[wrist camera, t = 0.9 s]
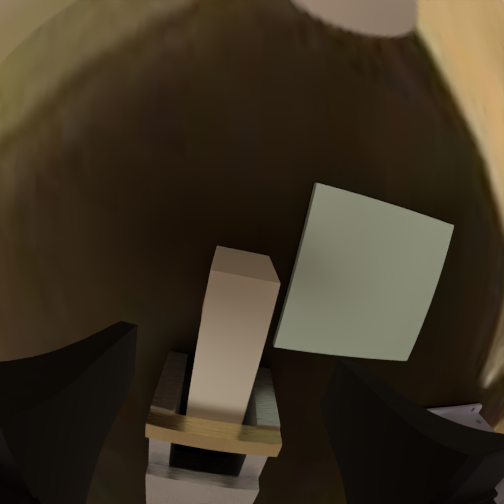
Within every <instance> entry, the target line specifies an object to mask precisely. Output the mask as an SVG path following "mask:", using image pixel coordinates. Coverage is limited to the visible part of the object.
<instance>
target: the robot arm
mask: <svg viewBox="0 0 504 504" xmlns="http://www.w3.org/2000/svg"><path fill="white" fill-rule="evenodd" d="M136 339H137V325H135V324H131V323H127V322H123V321H120V322H118V323H116V324H113V325H111V326H109V327H108V328H106V329H104V330H102V331H100V332H98V333H96V334H93V335H91V336H89V337H87V338H85V339H83V340H81V341H78V342H76V343H73V344H71V345H69V346H66V347H64V348H61V349H58V350H55V351H52V352H49V353H45V354H42V355H38V356H34V357H29V358H23V359H17V360H12V361H2V362H0V504H86V499H87V495H88V491H89V487H90V484H91V480H92V476H93V473H94V469H95V466H96V463H97V460H98V457H99V454H100V451H101V448H102V445H103V443H104V441H105V438H106V436H107V434H108V432H109V430H110V428H111V426H112V424H113V422H114V420H115V418H116V416H117V414H118V412H119V410H120V408H121V406H122V404H123V402H124V400H125V398H126V396H127V394H128V391H129V388H130V385H131V382H132V379H133V376H134V373H135V355H136ZM321 407H322V414H323V419H324V424H325V427H326V431H327V434H328V437H329V440H330V442H331V445H332V448H333V451H334V454H335V457H336V460H337V463H338V466H339V469H340V472H341V476H342V480H343V485H344V490H345V495H346V502H347V504H504V434H501V433H495V431H494V430H493V429H492V428H491V427H490V426H489V425H488V423H487V422H486V421H485V420H484V419H483V418H482V417H481V416H480V414H479V411H480V409H481V408H482V405H481V404H480V403H477V404H470V405H462V406H453V407H442V408H430V409H425V408H423V407H421V406H419V405H418V404H416V403H414V402H413V401H411V400H409V399H408V398H406V397H405V396H403V395H402V394H400V393H399V392H397V391H396V390H394V389H393V388H391V387H390V386H389V385H387V384H386V383H384V382H383V381H382V380H380V379H379V378H377V377H376V376H375V375H373V374H372V373H371V372H369V371H368V370H366V369H365V368H363V367H362V366H360V365H359V364H357V363H355V362H354V361H346V360H338V362H337V364H336V367H335V369H334V372H333V374H332V377H331V379H330V382H329V384H328V386H327V389H326V391H325V394H324V396H323V398H322V400H321Z"/></svg>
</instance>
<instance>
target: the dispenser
mask: <svg viewBox="0 0 504 504" xmlns="http://www.w3.org/2000/svg"><path fill="white" fill-rule="evenodd" d="M187 357H188V354H184V353H179V352H174V351H169V354H168V357H167V359H166V362H165V365H164V368H163V371H162V374H161V377H160V380H159V383H158V386H157V389H156V392H155V395H154V398H153V401H152V404H151V409H150V412H149V415H148V419H147V422H146V436H145V437H149V463H148V467H147V471H146V504H253V502H254V500H255V498H256V496H257V494H258V492H259V484H258V477H259V475H260V473H261V471H262V469H263V466H264V464H265V462H266V459H267V457H268V456H274V457H277V455H278V453H279V451H280V449H281V446H282V441H281V435H280V430H279V429H280V421H279V416H278V410H277V405H276V399H275V394H274V389H273V383H272V378H271V372H270V368H263V367H258V369H257V373H256V376H255V380H254V383H253V387H252V390H251V394H250V397H249V401H248V404H247V408H246V411H245V414H244V418H243V421H242V424H241V425H238V424H231V423H224V422H217V421H211V420H205V419H200V418H194V417H189V416H184V415H179V412H180V405H181V397H182V390H183V383H184V376H185V370H186V363H187ZM175 443H176V444H181V445H186V446H191V447H197V448H203V449H209V450H216V451H223V452H227V455H226V458H218V457H211V456H205V455H199V454H193V453H187V452H182V451H177V450H175Z"/></svg>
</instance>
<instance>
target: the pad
mask: <svg viewBox="0 0 504 504" xmlns="http://www.w3.org/2000/svg"><path fill="white" fill-rule="evenodd" d="M453 228H454V225H451V224H448V223H445V222H443V221H440V220H437V219H434V218H431V217H428V216H426V215H423V214H420V213H417V212H414V211H411V210H408V209H405V208H402V207H398V206H395V205H392V204H389V203H386V202H383V201H379V200H376V199H373V198H369V197H366V196H363V195H359V194H356V193H352V192H349V191H345V190H342V189H338V188H335V187H331V186H327V185H324V184H320V183H314V186H313V191H312V195H311V199H310V203H309V208H308V212H307V216H306V220H305V224H304V228H303V232H302V236H301V240H300V244H299V248H298V252H297V256H296V260H295V264H294V267H293V271H292V275H291V279H290V283H289V286H288V290H287V294H286V297H285V301H284V305H283V308H282V312H281V316H280V319H279V323H278V326H277V330H276V333H275V337H274V340H273V345H274V347H277V348H284V349H291V350H298V351H306V352H314V353H322V354H331V355H340V356H350V357H361V358H372V359H385V360H401V361H407V359H408V357H409V355H410V353H411V350H412V348H413V346H414V344H415V341H416V339H417V336H418V334H419V332H420V329H421V327H422V324H423V322H424V319H425V316H426V314H427V311H428V308H429V306H430V303H431V300H432V297H433V294H434V292H435V289H436V286H437V283H438V280H439V277H440V273H441V270H442V267H443V264H444V260H445V257H446V254H447V250H448V247H449V243H450V239H451V235H452V232H453Z"/></svg>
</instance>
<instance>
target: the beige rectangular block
mask: <svg viewBox="0 0 504 504" xmlns="http://www.w3.org/2000/svg"><path fill="white" fill-rule="evenodd" d="M279 287H280V281H279V279H278V276H277V274H276V272H275V269H274V267H273V264H272V262H271V260H270V257H269V256H266V255H261V254H256V253H251V252H246V251H241V250H237V249H232V248H227V247H222V246H217V247H216V251H215V255H214V258H213V262H212V266H211V270H210V275H209V280H208V285H207V289H206V293H205V297H204V302H203V307H202V313H201V314H202V319H201V324H200V330H199V336H198V342H197V348H196V354H195V360H194V366H193V372H192V379H191V385H190V392H189V398H188V405H187V412H186V416H189V417H194V418H200V419H205V420H211V421H217V422H224V423H231V424H238V425H241V424H242V421H243V418H244V414H245V411H246V408H247V404H248V401H249V397H250V394H251V390H252V387H253V383H254V380H255V376H256V373H257V369H258V366H259V362H260V359H261V355H262V351H263V348H264V344H265V340H266V337H267V333H268V329H269V325H270V322H271V318H272V314H273V310H274V307H275V303H276V299H277V295H278V291H279Z"/></svg>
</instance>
